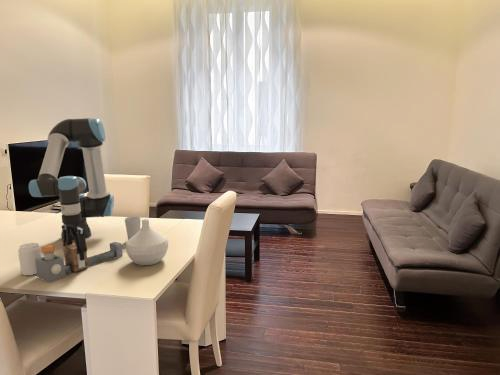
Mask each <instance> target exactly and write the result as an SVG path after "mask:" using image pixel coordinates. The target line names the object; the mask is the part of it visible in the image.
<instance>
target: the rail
mask: <svg viewBox="0 0 500 375" xmlns="http://www.w3.org/2000/svg"><path fill="white" fill-rule="evenodd" d="M122 245H123V244H122V243H120V242H116V241H114V242H110V243H109V250H108V251H104V252H102V253H99V254H95V255H92V256H87V262H88V267H90V266H93V265H96V264H97V265H98V264H100V263H103V262H105V261H106V262H107V261H109V260H111V259H115V258H120V257H121V258H122V257H123V246H122ZM64 267H65V275H66V274H69V273H72V272H74V271H72V264H66V265H65V264H64Z"/></svg>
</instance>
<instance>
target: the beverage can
mask: <svg viewBox="0 0 500 375" xmlns="http://www.w3.org/2000/svg"><path fill="white" fill-rule="evenodd" d="M41 257H42V251H41V245H40V244H39V243H37V242H30V243H23V244H21V245H19V248H18V259H19V267H20V274H21V275H22V274H23V275H22V276H26V275H31V276H34V275H33V274H36V275H37V270H36V261H35V259H37V258H41Z"/></svg>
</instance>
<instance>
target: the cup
mask: <svg viewBox="0 0 500 375" xmlns="http://www.w3.org/2000/svg"><path fill="white" fill-rule="evenodd" d="M124 223H125V228H126V234H127V235H126V237H127V241H128V240H129V239H130V238H132V237H133V236H134V235H135V234H136V233H137V232H138V231H139V230H140V229H141V216H128V217H125V218H124Z"/></svg>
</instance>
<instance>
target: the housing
mask: <svg viewBox="0 0 500 375" xmlns="http://www.w3.org/2000/svg"><path fill="white" fill-rule="evenodd" d="M35 261H36V270H37V274H36V276H37V277H39V278H41V279H43V280H42V281H44V280H45V281H44V282H46V281H47V282H46V283H48V282H49V283H51V281H52V282H55V281H58V280H60V279H63V278H66V274H65V267H64V265H65V257H61V256H59V255H56V254H54V259H53V260H50V261H47V262H46V261H45V260H44V256H41V258H37V259H35ZM39 278H38V279H39ZM41 279H40V280H41Z"/></svg>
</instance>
